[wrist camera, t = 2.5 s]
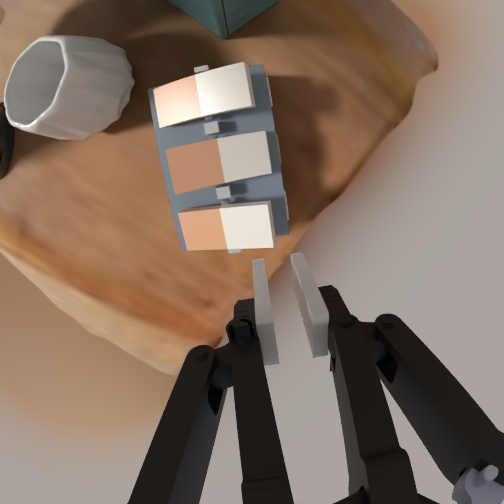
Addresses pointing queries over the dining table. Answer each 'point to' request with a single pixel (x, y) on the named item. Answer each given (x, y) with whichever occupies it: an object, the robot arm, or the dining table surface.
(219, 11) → the radio
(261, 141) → the rocker mid
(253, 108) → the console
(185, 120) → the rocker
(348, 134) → the dining table surface
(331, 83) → the dining table surface
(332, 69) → the dining table surface
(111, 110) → the vase
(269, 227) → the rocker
